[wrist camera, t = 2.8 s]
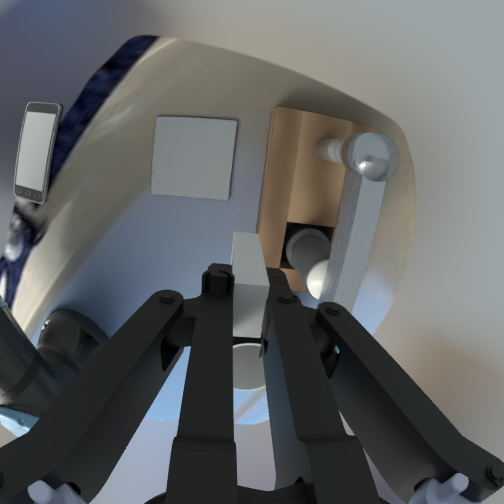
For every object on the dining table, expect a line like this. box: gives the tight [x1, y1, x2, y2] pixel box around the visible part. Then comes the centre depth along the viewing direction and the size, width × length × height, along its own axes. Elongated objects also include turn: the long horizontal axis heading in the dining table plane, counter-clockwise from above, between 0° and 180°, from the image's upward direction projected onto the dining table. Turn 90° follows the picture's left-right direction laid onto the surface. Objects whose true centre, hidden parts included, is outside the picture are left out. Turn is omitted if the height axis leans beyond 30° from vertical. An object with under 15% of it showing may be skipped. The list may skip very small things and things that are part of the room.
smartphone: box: [14, 102, 64, 204], centre depth 30 cm, size 7×1×15 cm
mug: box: [233, 332, 266, 391], centre depth 38 cm, size 12×9×10 cm
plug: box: [284, 223, 331, 299], centre depth 32 cm, size 5×5×13 cm
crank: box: [317, 133, 399, 351], centre depth 21 cm, size 18×4×4 cm, turn 173°
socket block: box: [256, 106, 375, 291], centre depth 30 cm, size 12×22×14 cm, turn 173°
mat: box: [151, 117, 237, 200], centre depth 33 cm, size 10×10×1 cm
